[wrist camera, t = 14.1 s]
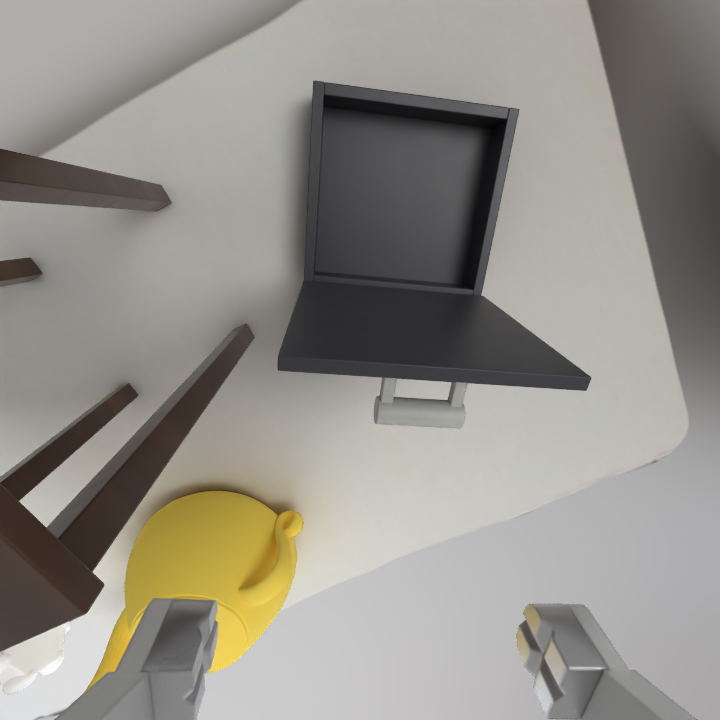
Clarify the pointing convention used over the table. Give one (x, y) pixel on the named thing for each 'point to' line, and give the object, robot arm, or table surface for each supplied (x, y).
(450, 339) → the lid
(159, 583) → the teapot
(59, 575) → the shelf top
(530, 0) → the table surface
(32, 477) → the shelf legs
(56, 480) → the table surface
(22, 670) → the bone shaped toy
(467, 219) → the hinged lid box
